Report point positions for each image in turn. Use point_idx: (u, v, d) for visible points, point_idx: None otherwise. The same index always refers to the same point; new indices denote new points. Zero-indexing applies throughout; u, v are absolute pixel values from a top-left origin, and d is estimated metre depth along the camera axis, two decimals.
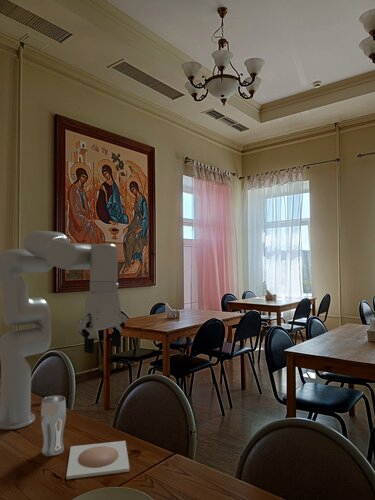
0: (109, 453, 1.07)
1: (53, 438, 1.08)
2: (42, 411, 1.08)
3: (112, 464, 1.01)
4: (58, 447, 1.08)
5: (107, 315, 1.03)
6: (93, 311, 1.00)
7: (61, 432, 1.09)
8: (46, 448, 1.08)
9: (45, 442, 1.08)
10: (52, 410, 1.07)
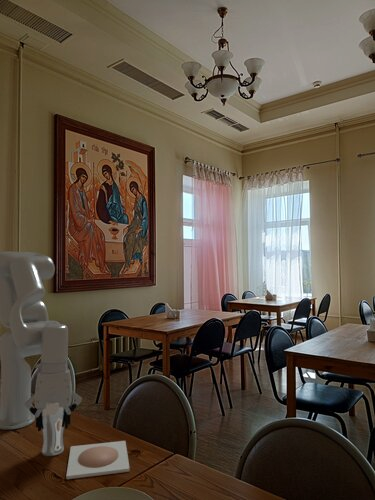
0: (109, 453, 1.07)
1: (53, 438, 1.08)
2: (42, 411, 1.08)
3: (112, 464, 1.01)
4: (58, 447, 1.08)
5: None
6: None
7: (61, 432, 1.09)
8: (46, 448, 1.08)
9: (45, 442, 1.08)
10: (52, 410, 1.07)
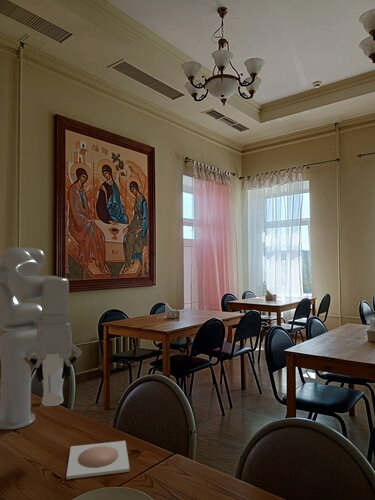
0: (109, 453, 1.07)
1: (53, 388, 1.09)
2: (42, 362, 1.09)
3: (112, 464, 1.01)
4: (58, 398, 1.09)
5: None
6: None
7: (61, 383, 1.10)
8: (46, 398, 1.08)
9: (45, 392, 1.09)
10: (52, 361, 1.08)
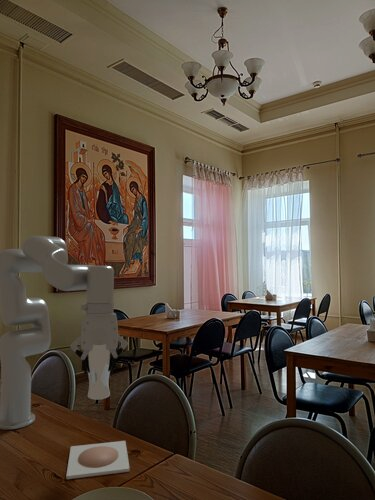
0: (109, 453, 1.07)
1: (100, 381, 1.04)
2: (88, 353, 1.04)
3: (112, 464, 1.01)
4: (105, 391, 1.04)
5: None
6: None
7: (107, 376, 1.05)
8: (93, 391, 1.03)
9: (91, 385, 1.04)
10: (99, 352, 1.03)
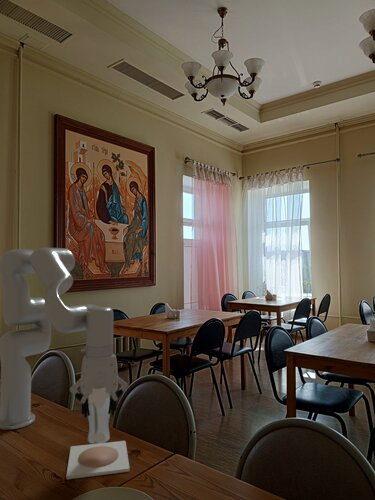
0: (109, 453, 1.07)
1: (100, 425, 1.03)
2: (88, 397, 1.03)
3: (112, 464, 1.01)
4: (105, 434, 1.04)
5: None
6: None
7: (107, 419, 1.05)
8: (93, 435, 1.03)
9: (91, 429, 1.03)
10: (99, 395, 1.03)
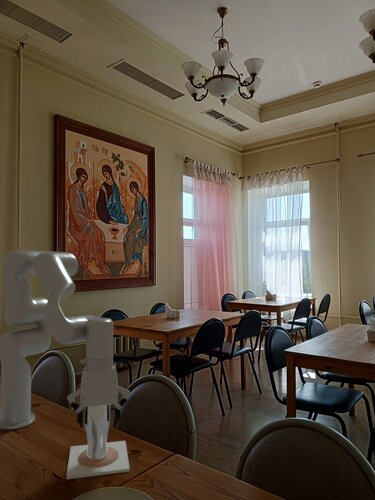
0: (109, 453, 1.07)
1: (98, 442, 1.03)
2: (86, 414, 1.03)
3: (112, 464, 1.01)
4: (103, 451, 1.04)
5: None
6: None
7: (106, 435, 1.05)
8: (91, 452, 1.03)
9: (90, 446, 1.03)
10: (97, 413, 1.03)
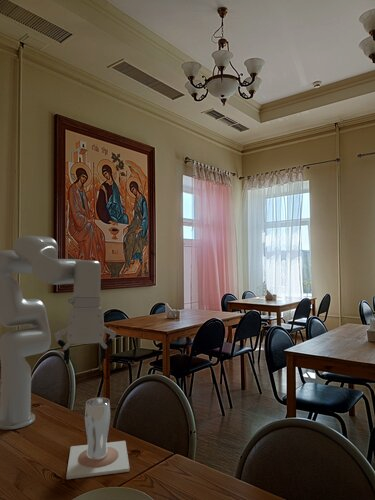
0: (109, 453, 1.07)
1: (99, 442, 1.03)
2: (87, 414, 1.03)
3: (112, 464, 1.01)
4: (103, 451, 1.04)
5: None
6: None
7: (106, 435, 1.05)
8: (91, 452, 1.03)
9: (90, 446, 1.03)
10: (98, 413, 1.03)
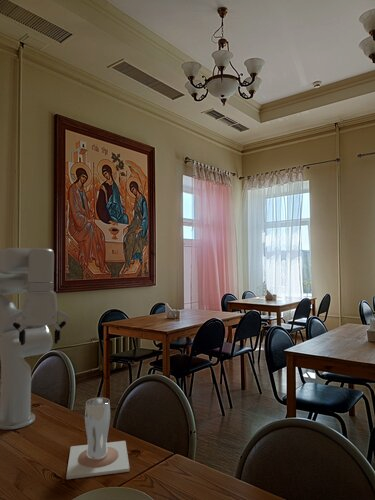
0: (109, 453, 1.07)
1: (99, 442, 1.03)
2: (87, 414, 1.03)
3: (112, 464, 1.01)
4: (103, 451, 1.04)
5: None
6: (57, 306, 1.19)
7: (106, 435, 1.05)
8: (91, 452, 1.03)
9: (90, 446, 1.03)
10: (98, 413, 1.03)
